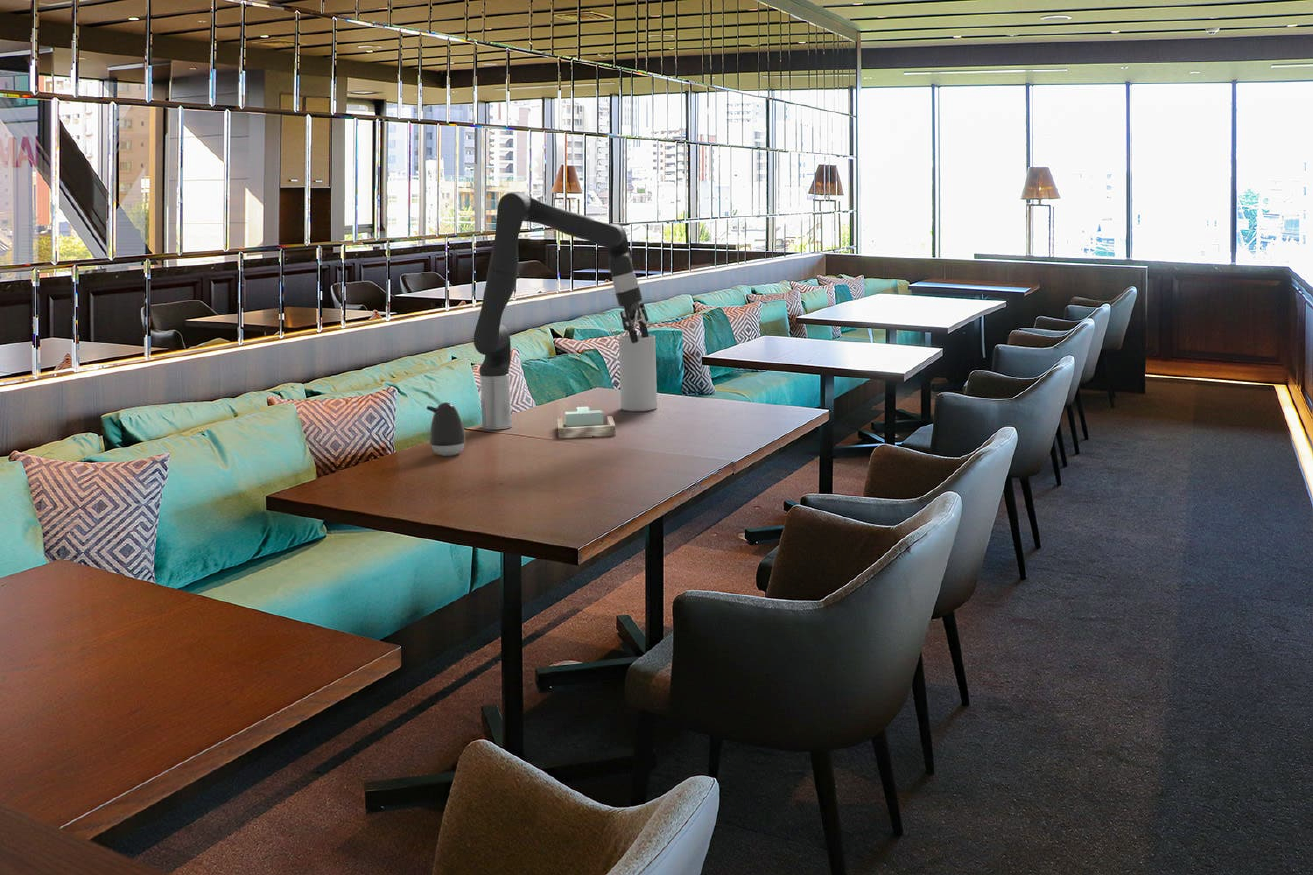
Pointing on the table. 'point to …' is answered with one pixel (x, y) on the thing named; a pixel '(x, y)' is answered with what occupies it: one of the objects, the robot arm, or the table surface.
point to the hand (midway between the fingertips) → (640, 339)
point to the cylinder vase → (638, 373)
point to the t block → (584, 417)
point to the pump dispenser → (446, 430)
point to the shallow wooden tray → (587, 430)
